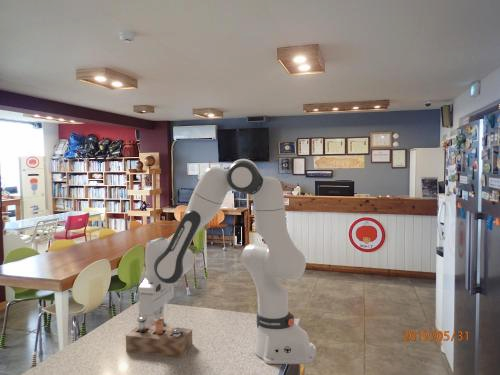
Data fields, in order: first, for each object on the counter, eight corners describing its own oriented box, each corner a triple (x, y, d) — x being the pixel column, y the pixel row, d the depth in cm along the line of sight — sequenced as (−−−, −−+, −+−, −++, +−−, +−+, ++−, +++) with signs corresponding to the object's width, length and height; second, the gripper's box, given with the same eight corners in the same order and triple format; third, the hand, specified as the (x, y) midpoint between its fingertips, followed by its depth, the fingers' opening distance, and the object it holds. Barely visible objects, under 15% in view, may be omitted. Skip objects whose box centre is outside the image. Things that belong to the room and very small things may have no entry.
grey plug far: (149, 332, 139) (148, 316, 139) (144, 336, 136) (144, 320, 135) (140, 331, 140) (140, 315, 140) (135, 335, 136) (135, 319, 136)
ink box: (164, 322, 159) (163, 292, 158) (159, 331, 150) (158, 299, 150) (145, 322, 159) (144, 292, 158) (138, 331, 151) (137, 299, 150)
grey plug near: (183, 344, 136) (183, 327, 136) (179, 349, 132) (179, 332, 132) (174, 343, 137) (174, 327, 136) (170, 348, 133) (169, 331, 133)
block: (192, 344, 139) (192, 329, 138) (181, 357, 129) (181, 341, 128) (140, 338, 144) (140, 323, 143) (126, 351, 134) (125, 335, 134)
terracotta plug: (166, 334, 137) (165, 317, 137) (161, 338, 134) (161, 321, 134) (157, 333, 138) (157, 317, 138) (152, 337, 135) (152, 321, 134)
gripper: (163, 273, 146) (163, 306, 146) (135, 289, 126) (136, 328, 126) (177, 274, 144) (178, 308, 145) (152, 290, 124) (153, 330, 125)
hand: (158, 317), depth 135 cm, fingers closed
